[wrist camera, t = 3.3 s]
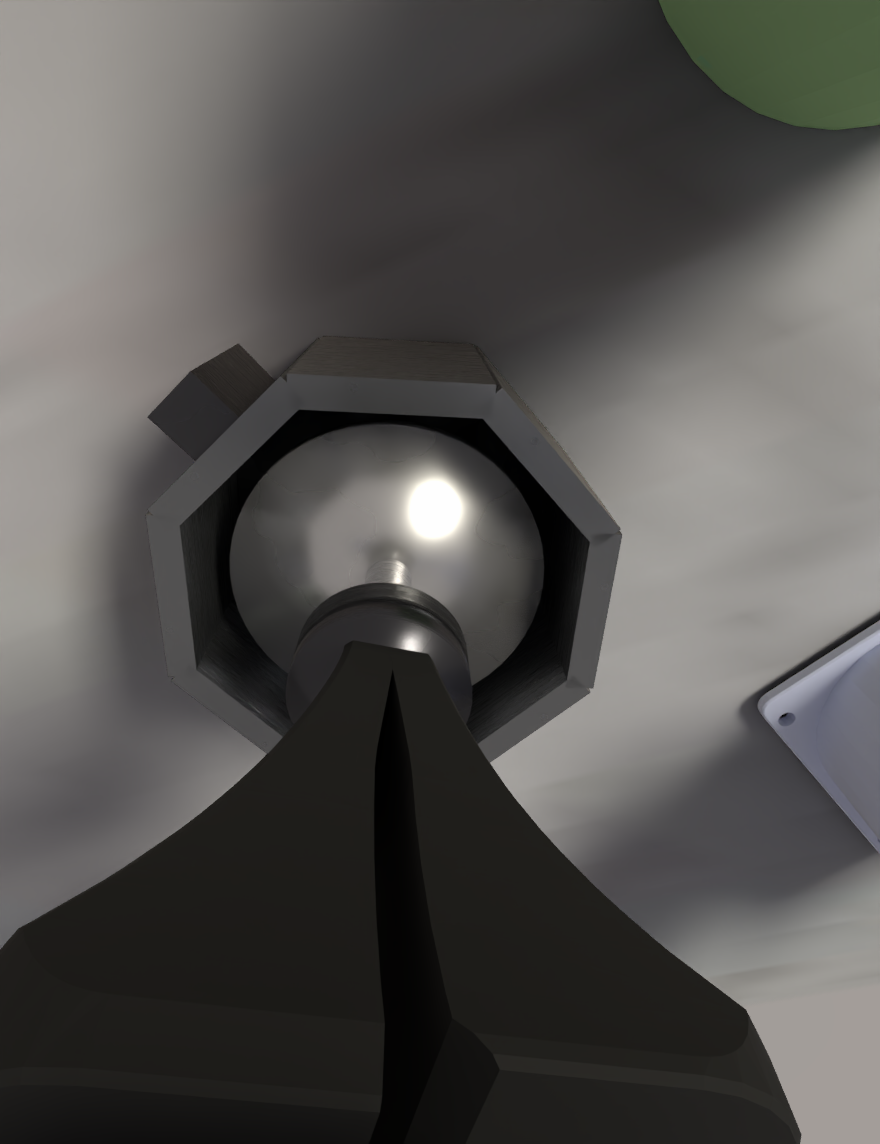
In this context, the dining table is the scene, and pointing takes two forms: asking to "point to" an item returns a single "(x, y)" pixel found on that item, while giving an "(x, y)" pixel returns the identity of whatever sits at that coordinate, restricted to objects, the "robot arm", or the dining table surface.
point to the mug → (788, 56)
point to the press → (331, 399)
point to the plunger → (386, 556)
